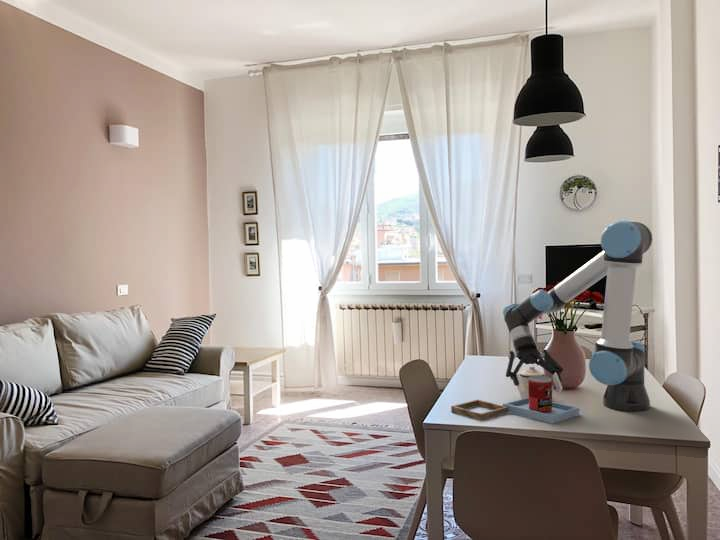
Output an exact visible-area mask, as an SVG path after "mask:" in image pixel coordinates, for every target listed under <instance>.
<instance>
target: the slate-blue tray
mask: <svg viewBox="0 0 720 540" xmlns="http://www.w3.org/2000/svg"><path fill="white" fill-rule="evenodd" d="M502 406H506V407H508V413H510V414H514V415H517V416H521V417H525V418H528V417H529V418H528V419H532V418H533V420H536V419H537V421H540V422H544V423H548V424H551V423H553V424H556V423H559V422H562V421H565V420H564V419H566V420H568V418H569V419H571V417H572V418H574V416H575V417H578V416H580V407H579V406H578V407H577V406H573V405H568V404H564V403H561V402H560V403H559V402H555V401H552V410H551V412H548V413H541V412H537V411H533V410H530V409H529V397H526V398H520V399H516V400H512V401H508V402H504V403H502ZM577 415H578V416H577ZM561 420H562V421H561ZM558 421H559V422H558ZM555 422H556V423H555Z"/></svg>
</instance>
